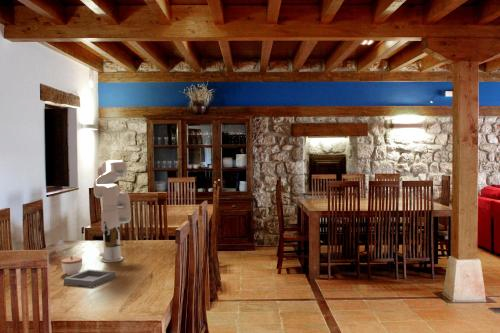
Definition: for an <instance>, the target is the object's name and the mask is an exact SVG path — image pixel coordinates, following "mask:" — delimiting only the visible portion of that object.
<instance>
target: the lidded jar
mask: <svg viewBox="0 0 500 333" xmlns="http://www.w3.org/2000/svg"><path fill="white" fill-rule="evenodd" d="M60 262H61V270H62V271H63V273H65V274H66V275H67V276H72V275H74V274H77V273H80V272H81V270H82V268H83V258H82V257H78V256H77V257H76V256H75V257H73V256H70V257H67V258H64V259H61V261H60Z"/></svg>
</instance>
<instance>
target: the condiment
mask: <svg viewBox="0 0 500 333" xmlns="http://www.w3.org/2000/svg"><path fill="white" fill-rule="evenodd" d="M107 232H108V230H107ZM109 235H110V242H105V245H106V246H104V245H103V246H102V247H103V248H104V247H107V248H112V247H116V246H120V247H121V246H122V244H121V243H120V244H117V236H116V229H115V227H114V228H113V229H111V230H110V233H109Z"/></svg>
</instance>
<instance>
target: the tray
mask: <svg viewBox="0 0 500 333" xmlns="http://www.w3.org/2000/svg"><path fill="white" fill-rule="evenodd" d="M116 278H117V271H112V270H111V271H110V270H109V271H108V270H100V269H99V270H97V269H88V268H87V269H86V270H82V271H79V272H78V273H77V274H74V275H68V276H66V277H64V278H63V285H66V284H72V285H71V286H75V285H82V286H81V287H85V286H91V287H90V288H95V287H97V286H100V285H102V284H105V283H106V282H108V281H111V280H113V279H116ZM99 284H100V285H99ZM96 285H97V286H96ZM94 286H95V287H94Z"/></svg>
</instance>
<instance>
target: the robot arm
mask: <svg viewBox="0 0 500 333" xmlns="http://www.w3.org/2000/svg"><path fill="white" fill-rule="evenodd" d="M127 172H128V166H127V164H126V161H124V160H107V161H106V160H105V161H104V162H103V163H102V164H101V166H99V167H98V169H97V178H95V180H94V182H93V196H95V198H97V199H102V211H101V213H100V220H101V228H100V231H101V232H102V234H103V235H102V236H103V246H106V245H105V242H110V235H109V233H110V230H111V229H113V228H114V227H115V229H116V236H117V244H121V238H120V235H121V234H120V227H121V225H122V224H128V223H130V222H131V220H132V208H131V198H130V195H129V193H128V192H124V191H123V192H121V186H119V184H117V183H115V182H116V181H117V179H124V178H126V176H127ZM107 230H108V232H107ZM98 256H99V257H102V258H101V262H103V263H117V262H120V261H123V259H124V257H123V256H122V255H121V246H116V247H112V248H107V247H103V252H102V251H101V252H100V253H99V255H98Z"/></svg>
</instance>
